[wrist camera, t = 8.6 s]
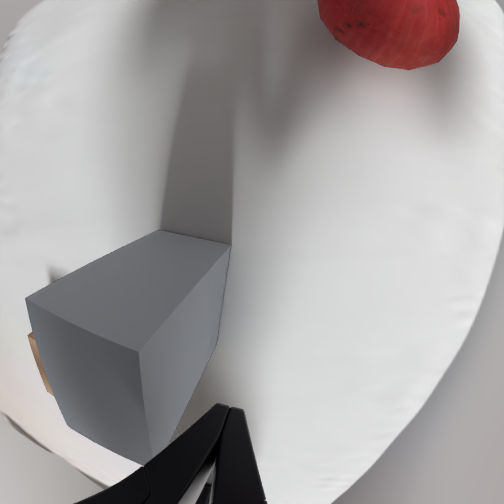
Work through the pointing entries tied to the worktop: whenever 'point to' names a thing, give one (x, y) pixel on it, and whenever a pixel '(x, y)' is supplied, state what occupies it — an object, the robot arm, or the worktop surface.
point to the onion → (394, 29)
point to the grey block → (132, 338)
